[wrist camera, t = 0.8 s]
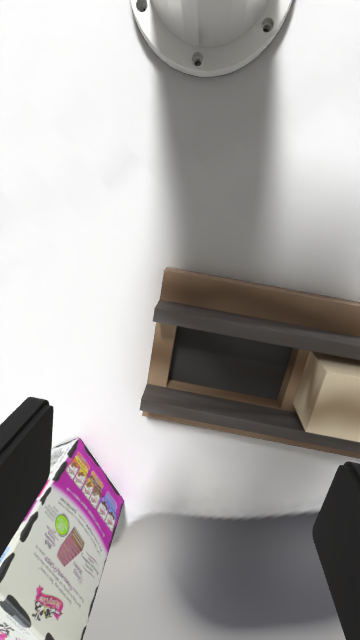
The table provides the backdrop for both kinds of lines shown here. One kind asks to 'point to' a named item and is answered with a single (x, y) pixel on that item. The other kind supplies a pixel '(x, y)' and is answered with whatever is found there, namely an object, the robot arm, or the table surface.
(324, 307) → the runway board
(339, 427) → the maple block
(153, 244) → the table surface
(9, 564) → the candy bar box
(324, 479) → the table surface
